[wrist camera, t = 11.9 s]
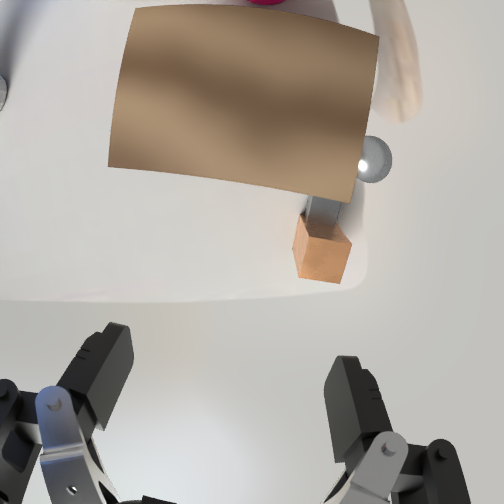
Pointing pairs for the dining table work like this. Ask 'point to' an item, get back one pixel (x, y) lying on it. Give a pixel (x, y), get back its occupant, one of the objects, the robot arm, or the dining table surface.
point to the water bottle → (2, 92)
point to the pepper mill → (266, 2)
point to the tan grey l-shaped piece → (320, 242)
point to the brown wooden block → (244, 97)
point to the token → (374, 160)
